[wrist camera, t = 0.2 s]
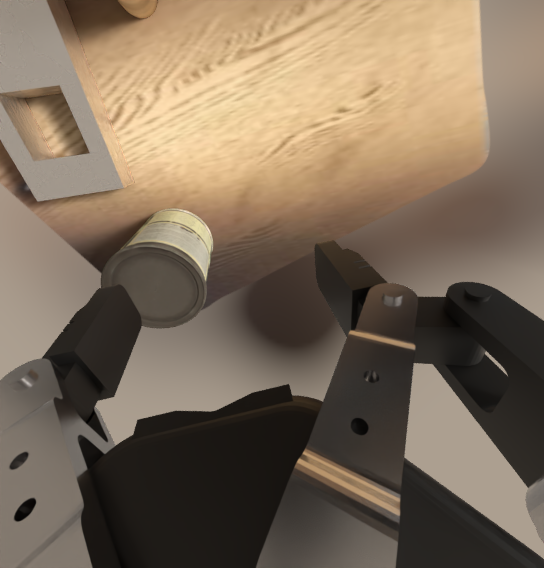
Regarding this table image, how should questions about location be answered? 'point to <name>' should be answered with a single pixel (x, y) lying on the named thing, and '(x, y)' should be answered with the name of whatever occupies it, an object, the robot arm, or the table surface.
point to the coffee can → (164, 268)
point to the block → (47, 81)
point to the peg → (139, 7)
